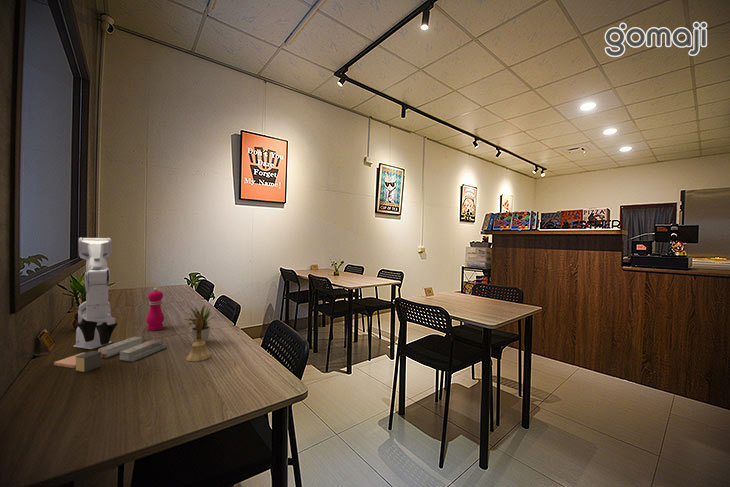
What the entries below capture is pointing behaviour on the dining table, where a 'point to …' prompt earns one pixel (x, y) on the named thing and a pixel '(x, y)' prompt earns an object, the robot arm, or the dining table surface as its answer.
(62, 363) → the pad
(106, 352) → the parallel gray bars
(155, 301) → the pepper mill
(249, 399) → the dining table surface
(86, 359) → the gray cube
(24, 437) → the dining table surface
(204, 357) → the hand bell
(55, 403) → the dining table surface
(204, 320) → the house plant
